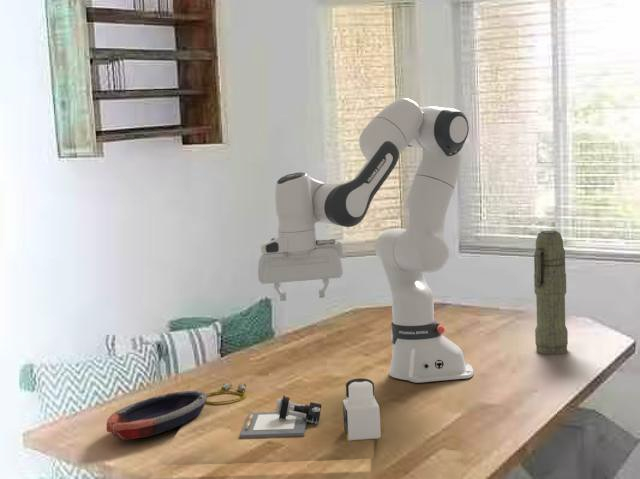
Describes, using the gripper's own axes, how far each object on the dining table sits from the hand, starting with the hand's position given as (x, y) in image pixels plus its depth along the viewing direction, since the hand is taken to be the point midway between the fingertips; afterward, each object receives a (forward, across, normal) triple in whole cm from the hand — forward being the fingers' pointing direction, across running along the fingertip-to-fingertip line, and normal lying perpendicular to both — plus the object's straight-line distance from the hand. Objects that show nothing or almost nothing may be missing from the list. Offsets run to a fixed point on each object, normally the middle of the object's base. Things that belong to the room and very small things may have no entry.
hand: (303, 298), depth 214 cm
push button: (+25, -2, +14) cm, 28 cm away
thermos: (+30, -67, -42) cm, 85 cm away
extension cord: (+26, +22, -10) cm, 36 cm away
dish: (+25, +36, +11) cm, 45 cm away
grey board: (+26, +8, +15) cm, 31 cm away
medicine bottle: (+26, -12, +24) cm, 37 cm away
